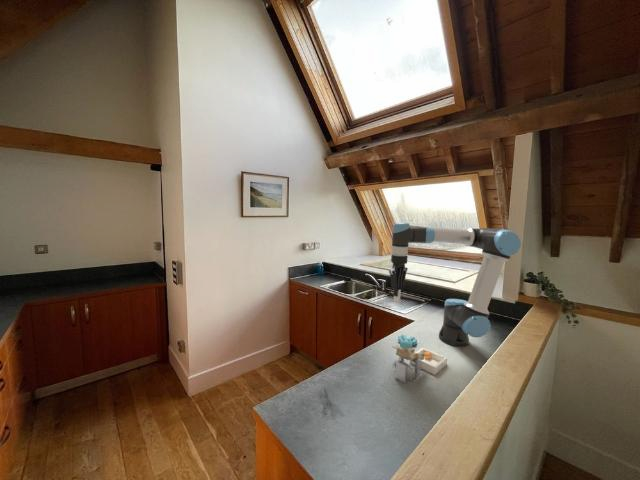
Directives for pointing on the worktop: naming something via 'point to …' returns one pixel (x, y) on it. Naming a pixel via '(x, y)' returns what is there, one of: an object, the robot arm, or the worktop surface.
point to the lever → (408, 353)
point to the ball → (427, 355)
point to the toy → (406, 342)
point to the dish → (432, 362)
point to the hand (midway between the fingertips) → (396, 302)
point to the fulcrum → (407, 370)
